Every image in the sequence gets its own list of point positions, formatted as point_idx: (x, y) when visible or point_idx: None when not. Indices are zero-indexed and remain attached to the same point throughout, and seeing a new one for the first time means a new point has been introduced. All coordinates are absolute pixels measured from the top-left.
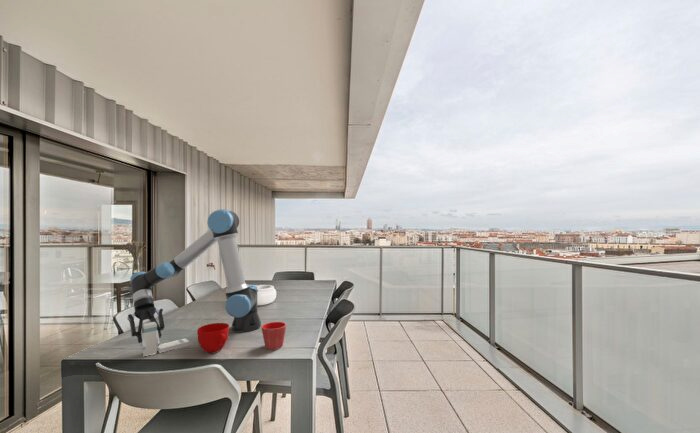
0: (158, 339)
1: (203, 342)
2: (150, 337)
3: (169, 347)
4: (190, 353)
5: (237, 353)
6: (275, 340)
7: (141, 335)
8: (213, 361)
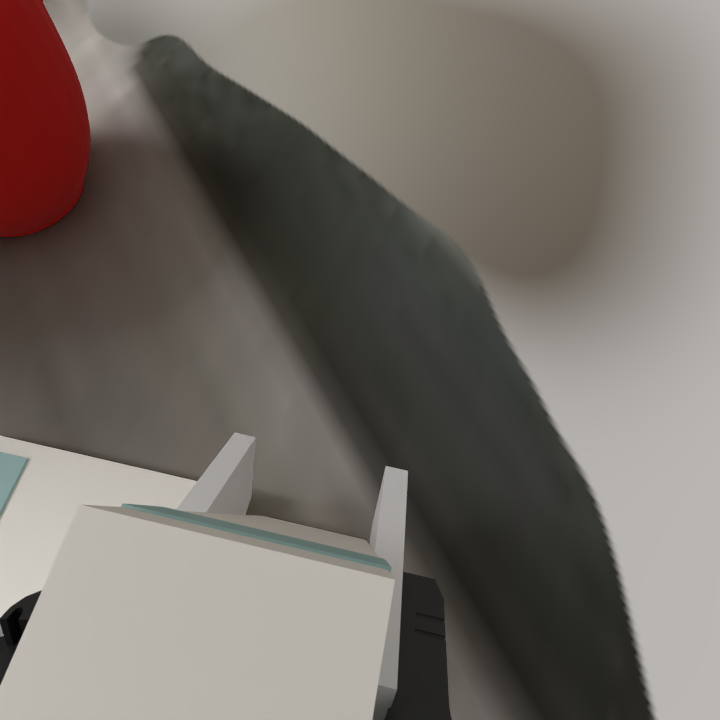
0: (221, 466)
1: (74, 73)
2: (291, 531)
3: (149, 471)
4: (134, 270)
5: None
6: None
7: (394, 659)
8: (173, 69)
